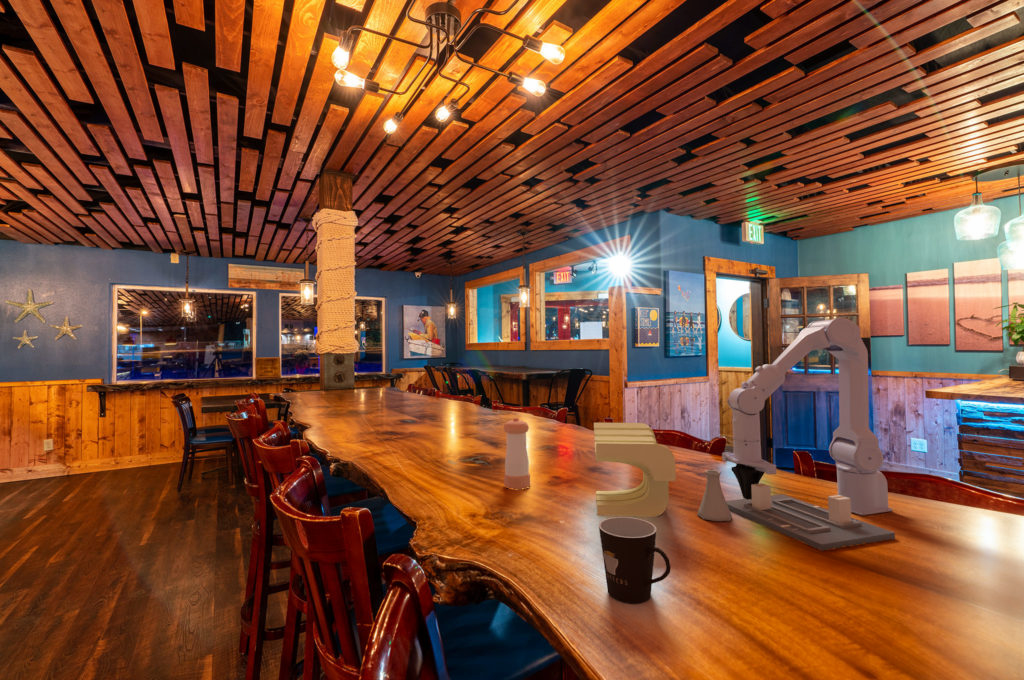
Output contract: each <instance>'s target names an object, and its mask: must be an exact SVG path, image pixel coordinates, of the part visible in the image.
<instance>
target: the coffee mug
mask: <svg viewBox="0 0 1024 680" xmlns="http://www.w3.org/2000/svg"><path fill="white" fill-rule="evenodd" d="M598 529H599V536H600V537H599V538H600V543H601V551H602V558H603V559H602V560H603V565H604V573H605V582H606V588H607V594H608V595H609V597H611V598H612V600H615V601H617V602H620V603H623V604H627V605H639V604H644V603H646V602H648V601H649V600H650V599H651V595H652V585H653V584H656V583H658V582H661V581H663V580H665V579H666V578H667V577H668V576H669V574H670V573H671V570H672V569H671V568H672V567H671V563H670V559H669V557H668V555H667V554H666V552H665V551H663V550H662V549H661V548H659V547H656V541H657V540H656V538H657V529H658V528H657V527H656V525H654V524H653V523H652V522H650V521H648V520H645V519H642V518H638V517H633V516H613V517H609V518H605V519H603V520H601V521H600V522H599V523H598ZM655 553H658V554H659V555H660V557H662V558H663V560H664V562H665V563H664V564H665V571H664V573H663V574H662V575H660V576H658V577H655V578H653V574H654V573H653V572H654V563H655V562H654V561H655Z"/></svg>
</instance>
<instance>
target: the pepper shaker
mask: <svg viewBox="0 0 1024 680" xmlns="http://www.w3.org/2000/svg"><path fill="white" fill-rule="evenodd" d="M529 429H530V427H529V424H528V422H526V421H524V420H521V419H519V417H514V418H513V419H512V420H509V421H506V422H505V424H504V426H503V430H504V432H505V433H506V450H505V451H506V452H505V460H504V468H505V470H504V471H505V473H504V474H503V484H504V485H505V486H506V487H508V488H513V489H522V488H527V487H529V486H530V487H531V473H530V471H529V469H530V468H529V465H530V464H529V463H530V462H529V456H528V455H529V454H528V450H527V433H528V431H529ZM504 485H503V486H504Z"/></svg>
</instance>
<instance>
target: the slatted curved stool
mask: <svg viewBox="0 0 1024 680" xmlns="http://www.w3.org/2000/svg"><path fill="white" fill-rule="evenodd" d="M654 432H655V431H653V429H652V427H650V426H649V425H648V424H646V423H643V422H593V434H594V435H593V438H594V453H595V461H596V462H606V463H607V462H608V463H611V462H612V463H619V464H625V465H630V466H634V467H636V468H638V469H640V470H641V471H642V476H643V477H642V478H643V479H642V482H641V483H640V484H639V485H638V486H636V487H633V488H631V489H623V490H596V491H595V500H596V514H597V516H614V517H643V518H644V517H645V518H646V517H647V518H653V517H654V518H655V517H659V516H660V515H662V514H663V513H664V512H665V511H666V509H667V508H668V505H669V491H670V490H669V487H670V486H669V483H670V482H676V481H677V477H676V476H677V475H676V469H677V467H676V466H677V465H676V458H675V455H674V453H673V452H672V450H671V449H670V448H669V447H668V446H666V445H663V444H659V443H658V442H657V438H656V435H655V433H654Z"/></svg>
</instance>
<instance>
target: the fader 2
mask: <svg viewBox="0 0 1024 680" xmlns="http://www.w3.org/2000/svg"><path fill="white" fill-rule="evenodd" d="M827 506H828V507H827V508H828V509H827V510H829V521H832V522H835V523H838V524H842V523H849V522H851V518H852V512H851V501H850V498H848V497H845V496H841V495H838V494H835V495H828V496H827Z"/></svg>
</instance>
